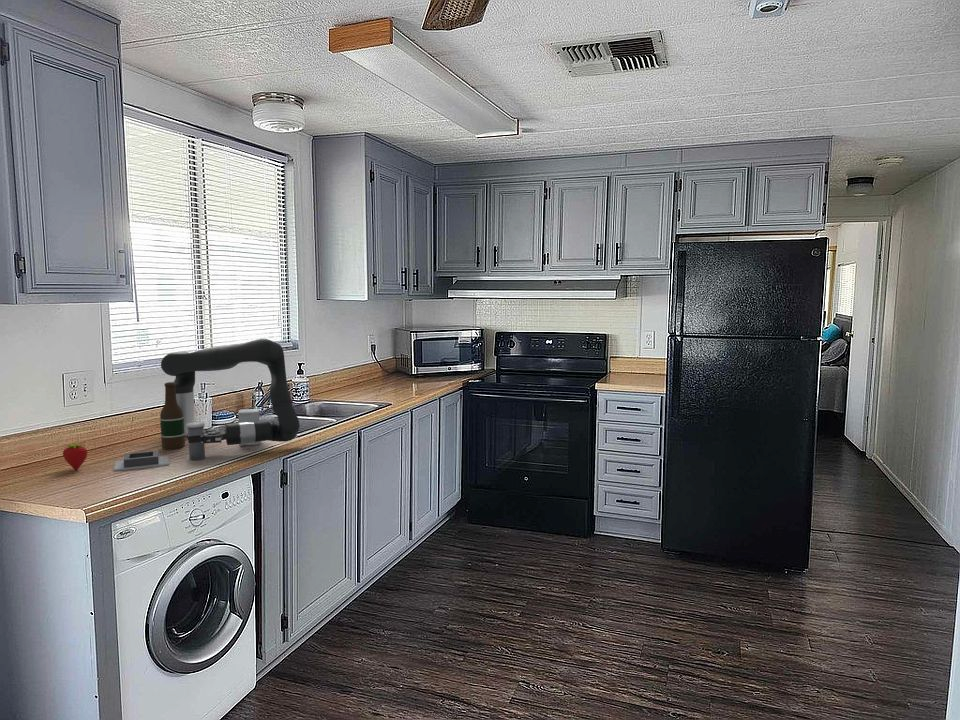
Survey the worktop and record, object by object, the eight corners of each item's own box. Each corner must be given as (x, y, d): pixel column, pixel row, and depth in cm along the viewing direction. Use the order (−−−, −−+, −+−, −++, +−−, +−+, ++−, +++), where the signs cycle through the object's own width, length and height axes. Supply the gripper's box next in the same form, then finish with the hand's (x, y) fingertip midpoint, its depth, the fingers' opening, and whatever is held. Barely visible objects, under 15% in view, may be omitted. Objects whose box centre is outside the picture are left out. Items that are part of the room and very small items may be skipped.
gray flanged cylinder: (187, 457, 233) (185, 423, 232) (205, 455, 236) (204, 421, 234) (188, 461, 228) (186, 425, 227) (207, 459, 230) (205, 424, 229)
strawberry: (73, 466, 222) (71, 436, 221) (93, 467, 221) (91, 437, 220) (59, 471, 217) (56, 440, 216) (79, 472, 215) (77, 441, 214)
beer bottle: (173, 450, 244) (169, 384, 242) (157, 449, 247) (153, 383, 244) (189, 445, 251) (186, 381, 249) (173, 444, 254) (169, 380, 252)
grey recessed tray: (115, 463, 227) (115, 453, 226) (168, 457, 233) (167, 448, 233) (113, 471, 216) (112, 461, 215) (168, 465, 222) (168, 456, 222)
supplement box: (238, 446, 249) (237, 412, 248) (240, 442, 256) (238, 409, 255) (260, 445, 251) (258, 411, 250) (260, 440, 258) (259, 408, 257)
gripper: (237, 419, 243) (186, 423, 236) (242, 426, 230) (187, 431, 223) (238, 440, 244) (187, 445, 237) (243, 447, 231) (189, 453, 224)
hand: (188, 438), depth 230 cm, fingers closed on gray flanged cylinder, 5 cm apart
